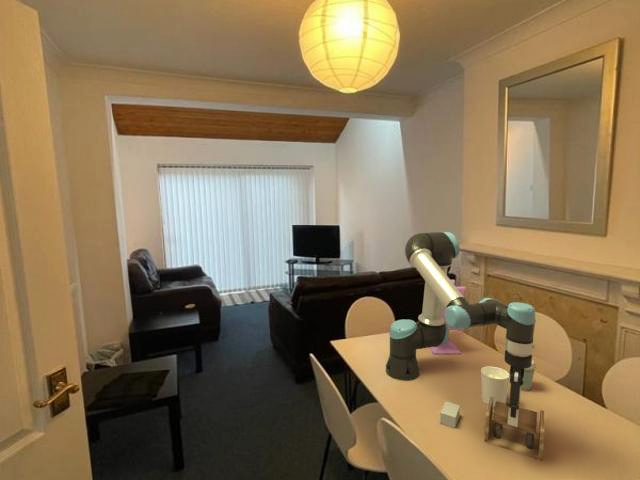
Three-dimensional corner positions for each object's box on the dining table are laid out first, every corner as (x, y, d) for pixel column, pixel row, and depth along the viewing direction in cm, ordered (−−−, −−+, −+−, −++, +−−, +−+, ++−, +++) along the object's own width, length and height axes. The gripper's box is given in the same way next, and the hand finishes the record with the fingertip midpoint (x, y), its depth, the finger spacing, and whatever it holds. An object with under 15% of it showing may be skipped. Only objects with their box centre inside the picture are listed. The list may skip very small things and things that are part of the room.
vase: (463, 355, 174) (466, 287, 169) (432, 355, 174) (434, 287, 169) (452, 342, 189) (454, 279, 185) (423, 342, 189) (424, 280, 185)
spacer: (455, 428, 120) (455, 417, 119) (440, 423, 123) (440, 412, 122) (459, 415, 127) (460, 405, 126) (445, 411, 129) (445, 401, 129)
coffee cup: (537, 393, 139) (539, 365, 138) (514, 391, 141) (516, 364, 139) (529, 382, 148) (531, 356, 146) (507, 380, 149) (509, 354, 148)
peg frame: (484, 441, 113) (485, 414, 112) (489, 421, 123) (490, 396, 122) (542, 460, 105) (544, 431, 103) (542, 437, 115) (544, 410, 113)
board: (536, 420, 113) (537, 412, 113) (536, 434, 106) (536, 425, 106) (495, 409, 120) (495, 400, 119) (492, 421, 113) (493, 413, 112)
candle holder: (496, 412, 128) (498, 381, 127) (474, 398, 137) (475, 370, 135) (513, 404, 133) (515, 374, 131) (490, 391, 141) (491, 364, 140)
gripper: (531, 372, 98) (525, 440, 101) (533, 339, 118) (528, 397, 121) (501, 365, 102) (497, 431, 105) (508, 335, 122) (504, 390, 125)
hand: (513, 413), depth 113 cm, fingers open, 13 cm apart
